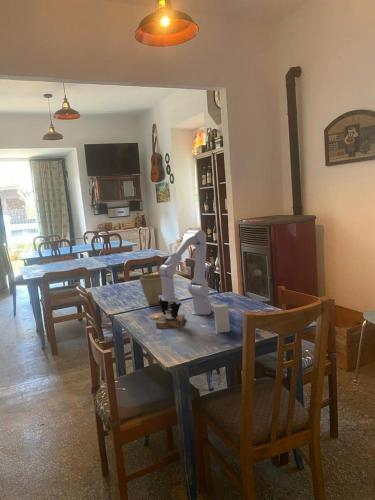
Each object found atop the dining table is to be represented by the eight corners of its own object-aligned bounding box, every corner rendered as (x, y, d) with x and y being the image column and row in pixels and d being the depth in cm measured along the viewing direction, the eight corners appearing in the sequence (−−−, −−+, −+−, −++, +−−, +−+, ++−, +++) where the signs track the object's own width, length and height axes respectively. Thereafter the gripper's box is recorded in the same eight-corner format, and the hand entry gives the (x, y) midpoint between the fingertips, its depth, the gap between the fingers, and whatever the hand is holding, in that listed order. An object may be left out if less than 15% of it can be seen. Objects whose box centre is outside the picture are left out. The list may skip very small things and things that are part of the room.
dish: (168, 313, 203) (167, 312, 203) (164, 319, 194) (164, 318, 194) (151, 314, 204) (151, 313, 204) (147, 319, 196) (147, 318, 195)
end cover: (176, 321, 189) (175, 308, 188) (175, 325, 184) (174, 311, 183) (167, 321, 190) (165, 308, 189) (165, 325, 185) (163, 311, 184)
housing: (184, 319, 192) (184, 314, 192) (181, 327, 180) (180, 322, 180) (161, 319, 194) (161, 315, 194) (156, 327, 182) (156, 322, 182)
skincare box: (228, 328, 174) (226, 303, 172) (230, 332, 170) (228, 305, 168) (215, 330, 174) (213, 304, 172) (216, 333, 169) (215, 307, 168)
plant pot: (171, 302, 224) (169, 276, 222) (148, 307, 217) (145, 280, 215) (160, 297, 237) (158, 272, 235) (138, 302, 230) (135, 276, 228)
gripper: (152, 288, 188) (155, 315, 189) (171, 292, 177) (173, 320, 179) (163, 285, 192) (166, 311, 194) (182, 289, 181) (184, 316, 183)
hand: (170, 315), depth 187 cm, fingers open, 7 cm apart
